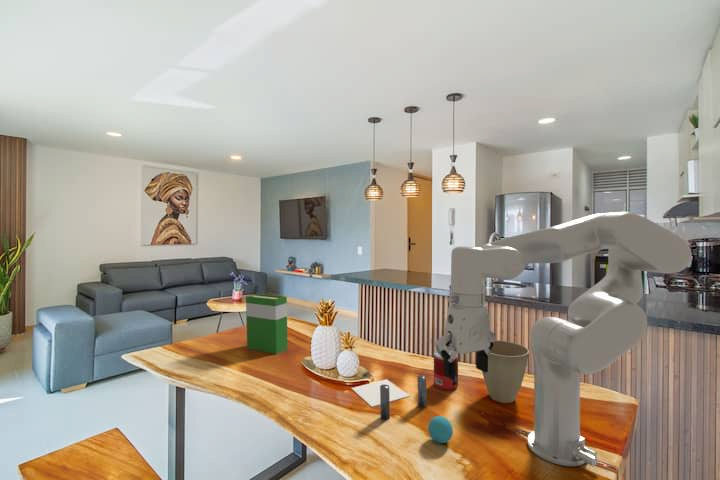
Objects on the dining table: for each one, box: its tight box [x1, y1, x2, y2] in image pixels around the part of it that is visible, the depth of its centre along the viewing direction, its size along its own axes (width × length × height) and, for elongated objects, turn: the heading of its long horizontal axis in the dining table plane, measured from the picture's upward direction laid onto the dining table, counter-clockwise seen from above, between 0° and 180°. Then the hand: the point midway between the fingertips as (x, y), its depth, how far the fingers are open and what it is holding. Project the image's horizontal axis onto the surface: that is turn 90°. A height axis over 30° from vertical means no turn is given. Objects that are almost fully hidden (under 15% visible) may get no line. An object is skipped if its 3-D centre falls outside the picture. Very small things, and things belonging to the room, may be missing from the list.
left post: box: [379, 384, 391, 421], centre depth 98 cm, size 3×3×9 cm
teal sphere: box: [428, 415, 454, 444], centre depth 87 cm, size 6×6×6 cm
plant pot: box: [477, 339, 530, 404], centre depth 109 cm, size 15×15×16 cm
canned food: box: [433, 350, 459, 392], centre depth 117 cm, size 8×8×11 cm
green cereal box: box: [245, 293, 289, 355], centre depth 158 cm, size 18×7×24 cm, turn 62°
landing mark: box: [351, 379, 411, 408], centre depth 114 cm, size 14×14×1 cm
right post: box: [417, 374, 428, 409], centre depth 104 cm, size 3×3×9 cm
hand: (465, 373), depth 80 cm, fingers open, 9 cm apart
